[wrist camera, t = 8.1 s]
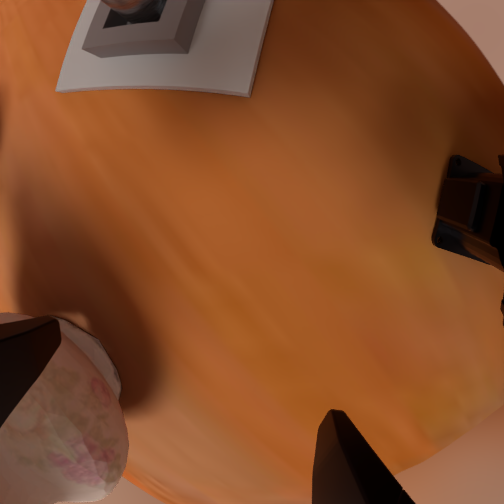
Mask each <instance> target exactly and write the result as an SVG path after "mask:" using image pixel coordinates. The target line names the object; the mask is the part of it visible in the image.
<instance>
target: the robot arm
mask: <svg viewBox="0 0 504 504" xmlns="http://www.w3.org/2000/svg"><path fill="white" fill-rule="evenodd" d="M498 158H499V165H500V166H501V168H502V174H495V173H493V172H491V171H489V170H487V169H485V168H484V167H482V166H480V165H478V164H476V163H474V162H472V161H470V160H468V159H466V158H464V157H462V156H460V155H452V157H451V158H450V163H449V168H448V174H447V179H445V181H444V186H443V191H442V195H441V199H440V204H439V208H438V212H437V216H438V218H437V221H436V225H435V229H434V232H433V236H432V243H433V245H435V246H436V247H438V248H441V249H444V250H447V251H450V252H453V253H457V254H460V255H463V256H466V257H468V258H471V259H474V260H477V261H480V262H483V263H486V264H489V265H492V266H494V267H496V268H498V269H499V270H501V271H503V272H504V155H498ZM456 159H457V160H458V165H456ZM439 237H440V242H438V243H437V239H438V238H439ZM500 309H501V312H502V314H503V326H504V295H503V300H502V301H501V308H500ZM61 341H62V337H61V330H60V323H59V321H58V320H57V319H56V318H54V317H52V316H50V315H47V316H41V317H36V318H31V319H25V320H20V321H14V322H8V323H3V324H0V428H1V427H2V425H3V424H4V422H5V421H6V420H7V418H8V417H9V415H10V414H11V413H12V411H13V410H14V409H15V407H16V406H17V405H18V403H19V402H20V401H21V399H22V398H23V397H24V395H25V394H26V393H27V392H28V390H29V389H30V388H31V386H32V385H33V384H34V383H35V381H36V380H37V379H38V378H39V376H40V375H41V373H42V372H43V370H44V369H45V367H46V366H47V364H48V363H49V361H50V360H51V358H52V357H53V355H54V354H55V352H56V351H57V349H58V348H59V346H60V344H61ZM312 504H415V502H414V501H413V500H412V499H411V498H410V496H409V495H408V494H407V493H406V492H405V490H403V488H402V486H401V485H400V484H399V483H398V481H397V480H396V479H395V477H394V476H393V475H392V474H391V472H390V471H389V470H388V468H387V467H386V466H385V465H384V463H383V462H382V461H381V459H380V458H379V457H378V456H377V454H376V453H375V452H374V450H373V449H372V448H371V446H370V445H369V444H368V442H367V441H366V440H365V439H364V437H363V436H362V435H361V433H360V432H359V431H358V429H357V428H356V427H355V425H354V424H353V423H352V421H351V420H350V419H349V417H348V416H347V415H346V413H345V412H344V411H342V410H335V409H331V410H329V411H328V413H327V415H326V416H325V418H324V419H323V421H322V423H321V424H320V426H319V429H318V434H317V442H316V450H315V458H314V465H313V476H312Z"/></svg>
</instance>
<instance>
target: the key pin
mask: <svg viewBox="0 0 504 504" xmlns="http://www.w3.org/2000/svg"><path fill="white" fill-rule="evenodd" d="M101 1H102V2H103V3H105V4H106V5H107V6H109V7H110V8H111V9H113V10H114V11H115V12H117V13H118V14H119V15H121V16H122V17H123V18H124V19H126V20H127V21H128V22H130V23H131V24H138V23H147V22H158V21H159V20H160V17H161V15H162V12H163V9H164V7H165V4H166V2H167V0H101Z"/></svg>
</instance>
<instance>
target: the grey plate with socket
mask: <svg viewBox="0 0 504 504" xmlns="http://www.w3.org/2000/svg"><path fill="white" fill-rule="evenodd" d="M273 2H274V0H167V2H166V4H165V7H164V9H163V12H162V15H161V17H160V20H159V21H158V22H147V23H138V24H131V23H130V22H128V21H127V20H126V19H124V18H123V17H122V16H121V15H119V14H118V13H117V12H115V11H114V10H113V9H111V8H110V7H109V6H107V5H106V4H105V3H103V2H102V1H101V0H87V2H86V4H85V6H84V9H83V11H82V13H81V16H80V18H79V20H78V23H77V25H76V28H75V30H74V33H73V36H72V38H71V41H70V44H69V47H68V50H67V53H66V56H65V59H64V62H63V65H62V69H61V72H60V76H59V79H58V83H57V87H56V91H57V92H61V93H66V92H77V91H89V90H106V89H168V90H186V91H199V92H210V93H220V94H228V95H236V96H243V97H250V95H251V91H252V87H253V82H254V78H255V74H256V70H257V65H258V61H259V57H260V53H261V49H262V45H263V41H264V37H265V33H266V29H267V25H268V21H269V17H270V13H271V9H272V5H273Z"/></svg>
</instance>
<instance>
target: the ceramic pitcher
mask: <svg viewBox="0 0 504 504" xmlns="http://www.w3.org/2000/svg"><path fill="white" fill-rule="evenodd" d="M50 316H51V315H50ZM52 317H53V316H52ZM31 318H34V317H32V316H29V315H23V314H16V313H9V312H8V313H0V324H3V323H8V322H14V321H20V320H25V319H31ZM54 318H56V317H54ZM56 319H57V320H58V321H59V323H60V330H61V337H62V341H61V344H60V346H59V348H58V349H57V351H56V352H55V354H54V355H53V357H52V358H51V360H50V361H49V363H48V364H47V366H46V367H45V369H44V370H43V372H42V373H41V375H40V376H39V378H38V379H37V380H36V381H35V383H34V384H33V385H32V386H31V388H30V389H29V390H28V392H27V393H26V394H25V395H24V397H23V398H22V399H21V401H20V402H19V403H18V405H17V406H16V407H15V409H14V410H13V411H12V413H11V414H10V415H9V417H8V418H7V420H6V421H5V422H4V424H3V425H2V427H1V428H0V504H54V503H57V502H94V501H97V500H101V499H103V498H104V497H106V496H107V495H109V494H110V493H111V492H112V491H113V489H114V488H115V486H116V485H117V484H118V482H119V480H120V478H121V476H122V474H123V471H124V469H125V467H126V462H127V456H128V448H129V441H128V433H127V427H126V424H125V420H124V416H123V412H122V409H121V407H120V404H119V401H118V400H119V397H120V393H121V389H122V387H121V382H120V379H119V375H118V372H117V369H116V368H115V366H114V364H113V363H112V361H111V360H110V358H109V356H108V355H107V353H106V351H105V350H104V348H103V346H102V344H101V343H100V341H99V340H98V339H96V338H94V337H93V336H91V335H89V334H87V333H86V332H84V331H82V330H81V329H79V328H77V327H76V326H74V325H72V324H71V323H69V322H67V321H66V320H63V319H59V318H56Z"/></svg>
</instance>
